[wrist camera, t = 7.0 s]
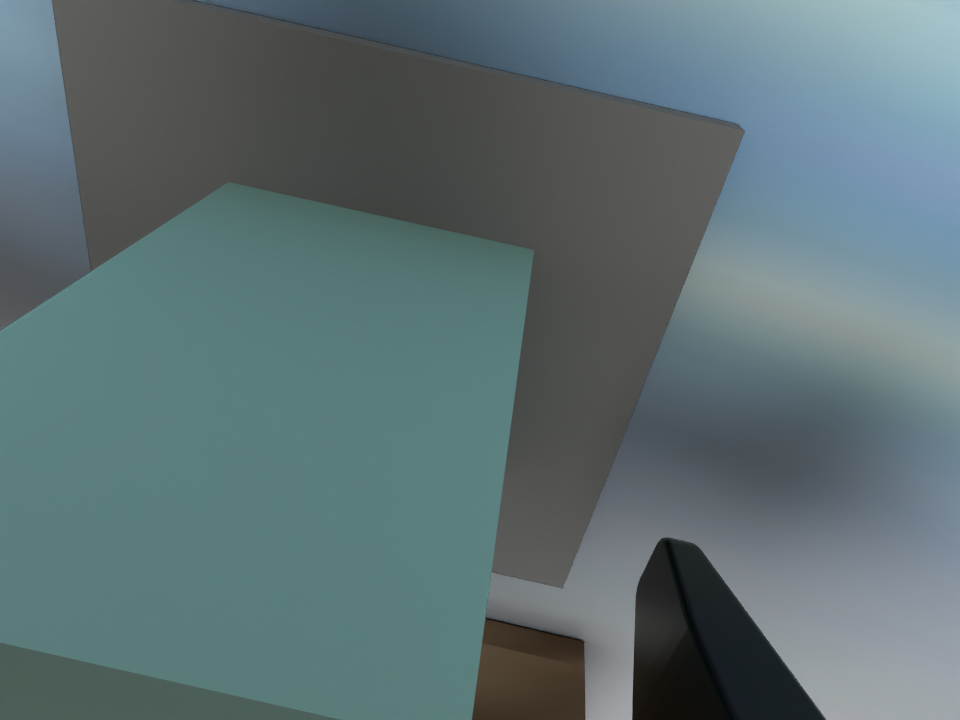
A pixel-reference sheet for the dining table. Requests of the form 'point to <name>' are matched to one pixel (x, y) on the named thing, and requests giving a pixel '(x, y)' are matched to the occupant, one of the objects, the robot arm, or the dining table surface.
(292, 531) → the block
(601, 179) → the mat
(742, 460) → the dining table surface
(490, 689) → the crate
